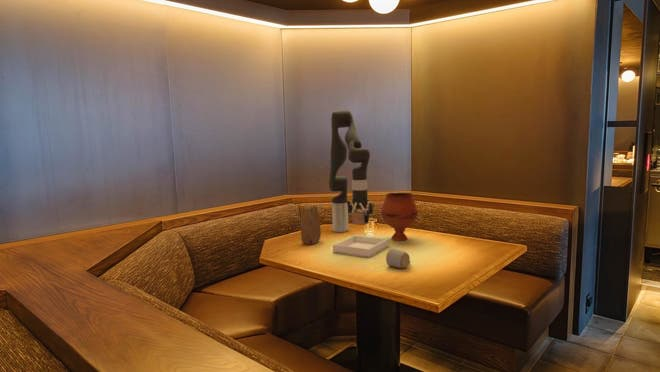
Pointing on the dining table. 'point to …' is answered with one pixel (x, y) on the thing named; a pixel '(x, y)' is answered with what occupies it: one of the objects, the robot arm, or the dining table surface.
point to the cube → (358, 218)
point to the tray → (360, 246)
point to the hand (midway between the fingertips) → (360, 221)
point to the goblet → (399, 213)
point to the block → (310, 225)
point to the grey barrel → (397, 258)
